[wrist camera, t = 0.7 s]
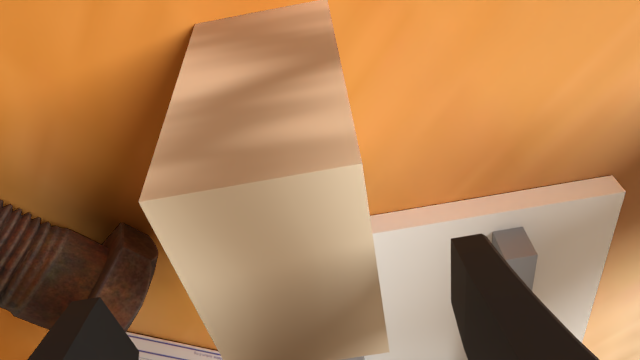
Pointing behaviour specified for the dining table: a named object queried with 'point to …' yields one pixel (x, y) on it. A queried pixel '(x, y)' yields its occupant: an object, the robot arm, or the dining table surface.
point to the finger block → (268, 191)
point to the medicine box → (170, 349)
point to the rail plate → (511, 242)
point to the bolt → (70, 269)
